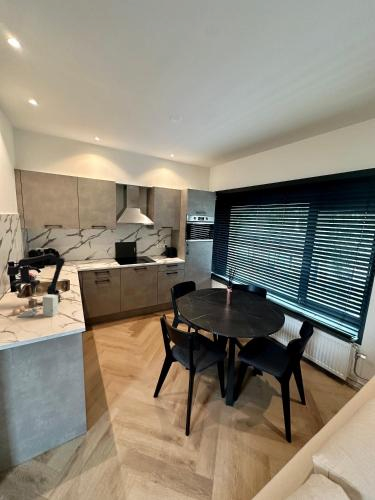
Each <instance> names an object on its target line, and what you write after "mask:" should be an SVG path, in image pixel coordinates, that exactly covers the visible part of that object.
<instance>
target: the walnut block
mask: <svg viewBox="0 0 375 500" xmlns="http://www.w3.org/2000/svg"><path fill="white" fill-rule="evenodd" d="M27 303H28V309H33V307H38V299H37V298H31V299H28V302H27Z"/></svg>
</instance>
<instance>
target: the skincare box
mask: <svg viewBox="0 0 375 500" xmlns="http://www.w3.org/2000/svg"><path fill="white" fill-rule="evenodd" d="M58 295H59V294H58ZM58 295H50V294H45V295H43V296H42V316H43V317H50V318H51V317H52V318H53V317H55V316H58V314H59V303H58Z"/></svg>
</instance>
